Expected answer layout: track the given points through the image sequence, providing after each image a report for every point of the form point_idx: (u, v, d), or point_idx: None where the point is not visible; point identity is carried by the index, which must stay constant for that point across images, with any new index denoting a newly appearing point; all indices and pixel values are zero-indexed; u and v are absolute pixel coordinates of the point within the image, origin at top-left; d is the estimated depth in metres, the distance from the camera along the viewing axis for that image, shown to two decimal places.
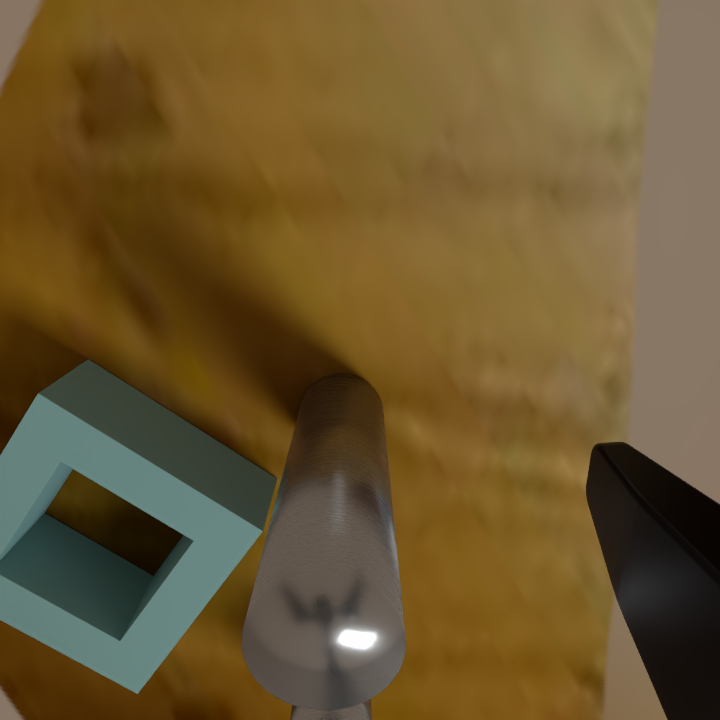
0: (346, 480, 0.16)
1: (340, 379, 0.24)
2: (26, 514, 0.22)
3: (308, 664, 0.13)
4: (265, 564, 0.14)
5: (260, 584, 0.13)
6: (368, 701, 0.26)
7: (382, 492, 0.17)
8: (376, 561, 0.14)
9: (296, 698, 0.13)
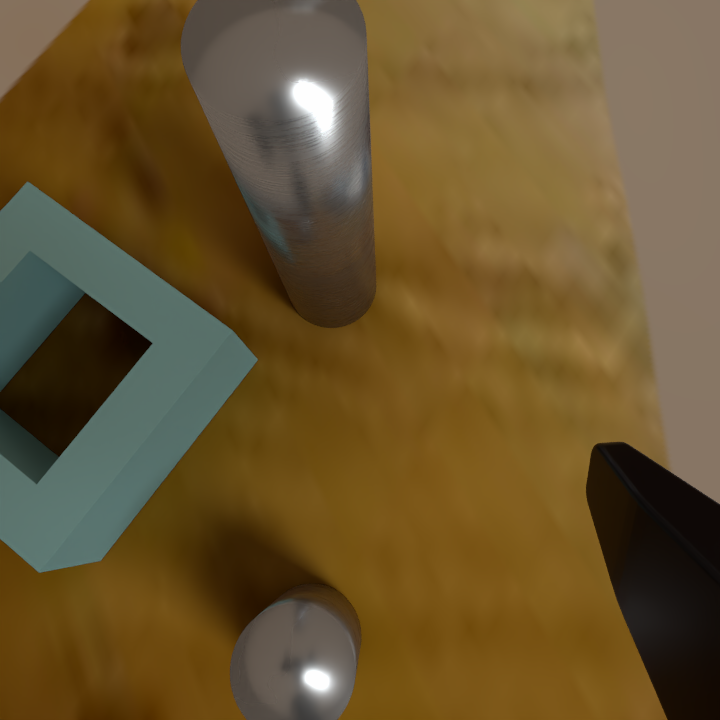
0: None
1: None
2: None
3: (253, 62, 0.11)
4: None
5: None
6: (353, 632, 0.19)
7: None
8: None
9: (236, 103, 0.11)
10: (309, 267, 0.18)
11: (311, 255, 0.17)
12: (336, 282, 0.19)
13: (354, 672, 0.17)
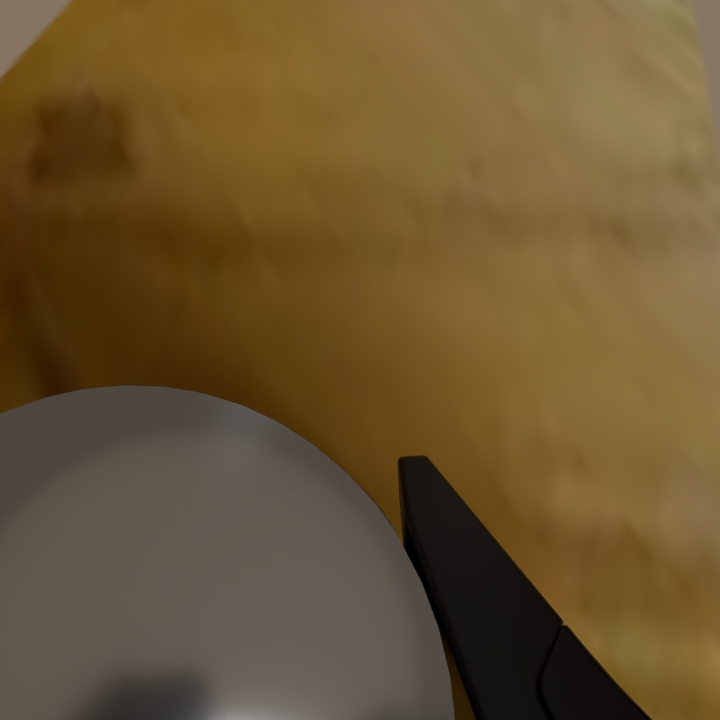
0: None
1: None
2: None
3: None
4: None
5: None
6: None
7: (384, 514, 0.08)
8: None
9: None
10: None
11: None
12: None
13: None
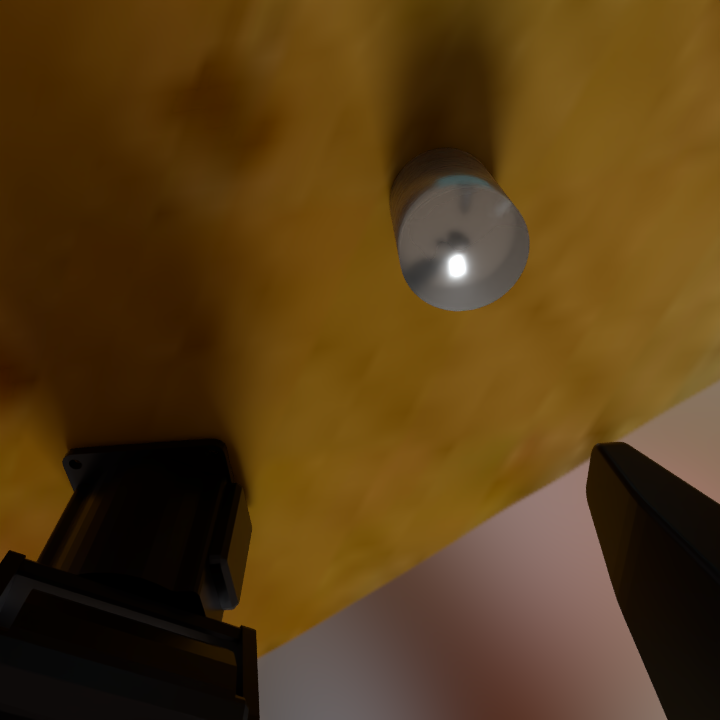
0: None
1: None
2: None
3: None
4: None
5: None
6: None
7: None
8: None
9: None
10: None
11: None
12: None
13: (497, 296, 0.17)
